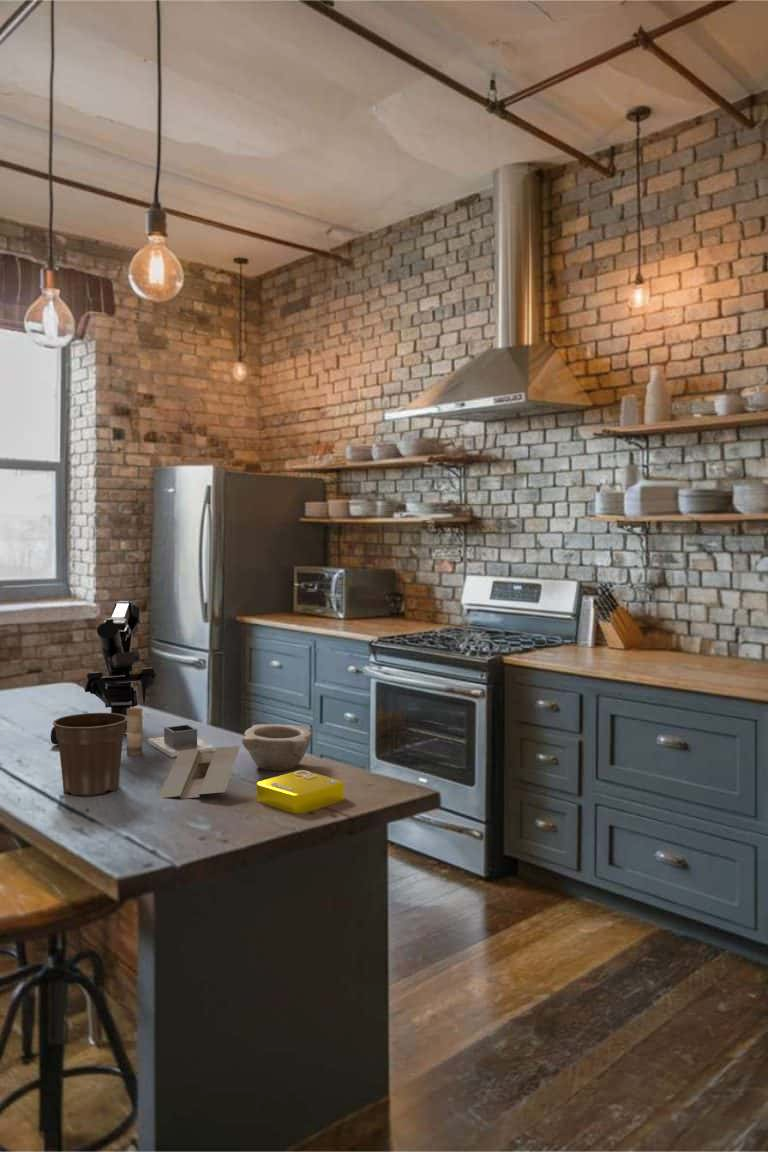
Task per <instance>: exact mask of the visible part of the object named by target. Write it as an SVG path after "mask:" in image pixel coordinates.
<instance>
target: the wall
mask: <svg viewBox="0 0 768 1152" xmlns="http://www.w3.org/2000/svg"><path fill="white" fill-rule="evenodd" d="M239 749H240V745H234V746H223V747H216V748H215V749H214V752H207V753H200V750H199V749H198V750H187V751H186V750H185V751H180V752H179V755H178V756H177V757H175V758H176V759H175V761H174V763H173V765H172V767H171V769H170V771H169V773H168V776H167V777H166V779H165V782H164V783H163V786H162V788H161V790H160V792H159V794H158V796H157V798H161V799H163V798H172V797H180V798H181V799H192V798H193V799H194V798H200V796H201V795H205V794H207V795H208V794H216V793H226V789H227V788H228V783H229V781H230V777H231V775H232V771H233V767H234V765H235V762H236V759H237V756H238V752H239Z"/></svg>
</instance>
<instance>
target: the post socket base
mask: <svg viewBox="0 0 768 1152" xmlns="http://www.w3.org/2000/svg"><path fill="white" fill-rule="evenodd" d="M163 731H164V732H163V736H160V737H159V736H158V737H151V738H148V739H147V743H148V744H149V745H151V746H152V747H153V748H156V749H157V750H159V751H160V752H161V753H163V754H165V755H166V756H168V757H170V758H171V759H172V758H177V756H178V755H179V752H180V751H185V750H186V751H187V750H198V749H199V750H200V753H209V752H210V753H211V752H215V746H213V745H212V744H210V743H207V742H206V741H205V740H202V739H200V738H198V729H197V728H196V727H194V726H192V725H189V724H180V725H174V726H165V727H164V728H163Z"/></svg>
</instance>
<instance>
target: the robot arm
mask: <svg viewBox="0 0 768 1152" xmlns="http://www.w3.org/2000/svg"><path fill="white" fill-rule="evenodd" d="M111 611H112V612H111V613H112V614H111V617H110V618H106V619H104V621H103V623H101V624H99V625H98V627H97V629H96V633H97V637H98V642H99V645H100V651H101V655H102V658H103V662H104V670H105V672H106V673H107V675H104V674H103V672H102V671H91V672H90V671H89V672H87V673H86V675H85V678H84V681H83V690H84V692H85V693H90V694H91V695H95V696H96V697H97V698H98V699H100V700H101V701H102V702H103V703H104V708H110V713H116V714H122V715H125V716H127V708H132V707H138V704H139V703H138V702H139V701H138V700H139V699H138V696H139V698H140V701H141V704H143V705H144V704H145V702H146V695H147V689H149V687H152V686H153V684H154V682H155V678H156V677H157V672H156V669H155V668H154V667H140V669H139V671H138V673H132V674H131V673H130V672H132V671H133V667H132V666H133V665H135V664H138V663H139V662H140V661H141V657H140V653H139V650H136V649H135V650H132V647H133V638H134V636H135V635H136V634H137V633H138V632H139V630H140V624H142V621H143V619H142V610H141V608H140V607H138V606H136V605H134V602H133V601H130V600H117V601H115V603H114V606H113V608H112V610H111ZM103 675H104V676H103ZM135 682H136V684H137V691H138V692H137V691H136V688H135V686H134V683H135ZM138 694H139V695H138ZM125 729H127V721H126V724H125Z"/></svg>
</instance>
